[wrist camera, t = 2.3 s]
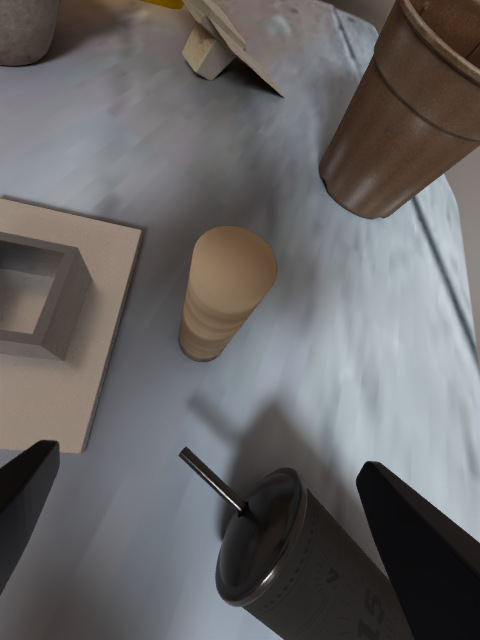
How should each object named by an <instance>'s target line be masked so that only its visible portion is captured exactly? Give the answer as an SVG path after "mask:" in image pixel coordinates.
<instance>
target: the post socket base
mask: <svg viewBox="0 0 480 640" xmlns="http://www.w3.org/2000/svg"><path fill="white" fill-rule="evenodd" d="M141 241H142V232H141V230H138V229H134V228H130V227H125V226H121V225H116V224H112V223H107V222H103V221H99V220H94V219H90V218H85V217H81V216H77V215H72V214H68V213H63V212H59V211H54V210H50V209H46V208H41V207H37V206H32V205H28V204H23V203H19V202H15V201H10V200H6V199H1V198H0V449H11V450H26V449H28V448H29V447H31V446H32V445H33V444H35V443H36V442H38V441H40V440H56V441H58V442H59V445H60V452H64V453H83V452H85V450H86V446H87V442H88V439H89V435H90V431H91V427H92V424H93V420H94V416H95V412H96V409H97V405H98V401H99V398H100V394H101V390H102V386H103V383H104V379H105V375H106V372H107V368H108V364H109V360H110V357H111V353H112V349H113V345H114V342H115V338H116V334H117V331H118V327H119V323H120V319H121V316H122V312H123V308H124V305H125V301H126V297H127V293H128V290H129V286H130V282H131V279H132V275H133V271H134V267H135V264H136V260H137V256H138V252H139V249H140V245H141Z"/></svg>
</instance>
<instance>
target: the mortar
mask: <svg viewBox="0 0 480 640" xmlns="http://www.w3.org/2000/svg"><path fill="white" fill-rule="evenodd" d="M60 1H61V0H0V65H10V66H15V65H26V64H31V63H34V62H36V61H38V60H40V59H41V58H42V57H43V56H44V55H45V54H46V53H47V51H48V49H49V47H50V45H51V42H52V39H53V35H54V31H55V26H56V21H57V17H58V12H59V7H60Z"/></svg>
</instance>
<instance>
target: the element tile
mask: <svg viewBox="0 0 480 640" xmlns="http://www.w3.org/2000/svg"><path fill="white" fill-rule="evenodd" d="M141 1H144V2H148V3H152V4H156V5H159V6H163V7H167V8H171V9H181V8H182V7H183V1H182V0H141Z"/></svg>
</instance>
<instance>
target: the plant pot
mask: <svg viewBox="0 0 480 640" xmlns="http://www.w3.org/2000/svg"><path fill="white" fill-rule="evenodd" d="M479 145H480V0H396V1H395V3H394V6H393V8H392V10H391V12H390V14H389V16H388V18H387V20H386V22H385V25H384V27H383V29H382V31H381V33H380V35H379V37H378V39H377V42H376V44H375V47H374V55H373V57H372V59H371V61H370V63H369V65H368V67H367V69H366V71H365V73H364V75H363V77H362V80H361V82H360V84H359V86H358V88H357V90H356V92H355V94H354V96H353V98H352V100H351V102H350V104H349V106H348V108H347V111H346V113H345V115H344V117H343V119H342V121H341V123H340V125H339V127H338V129H337V131H336V133H335V135H334V137H333V139H332V141H331V143H330V145H329V147H328V149H327V151H326V153H325V155H324V157H323V159H322V161H321V164H320V176H321V179H324V180H325V182H326V186H327V192H328V193H329V194H330V196H331V197H332V198H333V199H334V200H335V201H336V202H338V203H339V204H340V205H341V206H342V207H344V208H345V209H347V210H348V211H350V212H352V213H354V214H356V215H358V216H360V217H363V218H367V219H375V218H378V217H382V218H386V217H388V216H390V215H391V214H393V213H394V212H395V211H396V210H397V209H399V208H400V207H401V206H402V205H404V204H405V203H406V202H407V201H409V200H410V199H411V198H413V197H414V196H415V195H416V194H418V193H419V192H420V191H422V190H423V189H424V188H425V187H427V186H428V185H429V184H431V183H432V182H433V181H434V180H436V179H437V178H438V177H440V176H441V175H442V174H443V173H445V172H446V171H447V170H449V169H450V168H451V167H452V166H454V165H455V164H456V163H458V162H459V161H460V160H461V159H463V158H464V157H465V156H467V155H468V154H469V153H470V152H472V151H473V150H474V149H476V148H477V147H478V146H479Z"/></svg>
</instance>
